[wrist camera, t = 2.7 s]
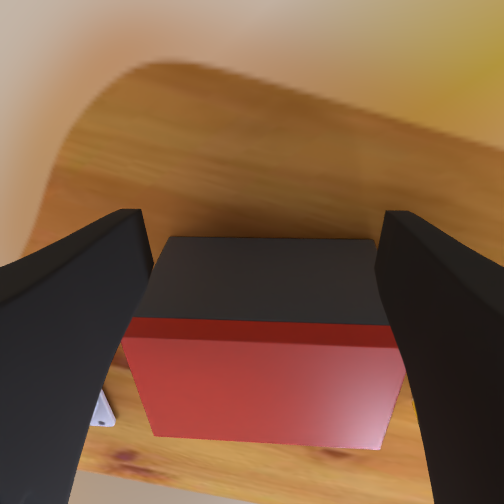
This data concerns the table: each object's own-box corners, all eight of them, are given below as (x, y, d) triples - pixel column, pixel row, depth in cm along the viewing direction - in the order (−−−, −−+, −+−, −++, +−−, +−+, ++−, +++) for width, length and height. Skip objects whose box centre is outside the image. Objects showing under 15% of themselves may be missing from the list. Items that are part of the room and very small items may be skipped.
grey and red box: (186, 328, 22) (153, 436, 16) (168, 235, 18) (117, 336, 12) (355, 334, 21) (380, 450, 15) (373, 238, 17) (415, 348, 12)
